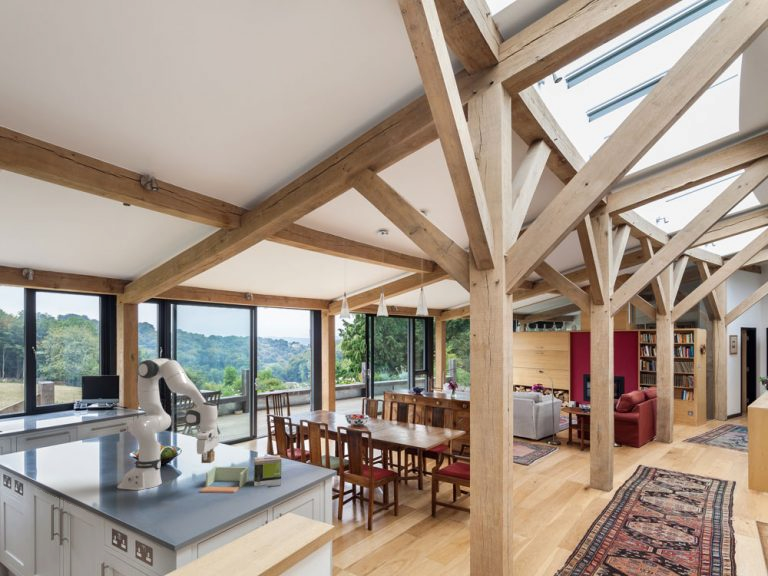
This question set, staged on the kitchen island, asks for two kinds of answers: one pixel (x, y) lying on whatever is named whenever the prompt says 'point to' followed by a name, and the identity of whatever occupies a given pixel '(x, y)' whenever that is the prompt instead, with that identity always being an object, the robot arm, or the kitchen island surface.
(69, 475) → the kitchen island surface
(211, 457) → the walnut block
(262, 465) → the tea box
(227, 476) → the box
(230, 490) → the board
